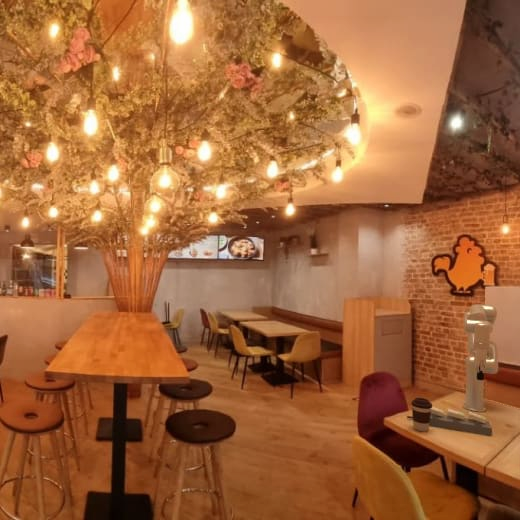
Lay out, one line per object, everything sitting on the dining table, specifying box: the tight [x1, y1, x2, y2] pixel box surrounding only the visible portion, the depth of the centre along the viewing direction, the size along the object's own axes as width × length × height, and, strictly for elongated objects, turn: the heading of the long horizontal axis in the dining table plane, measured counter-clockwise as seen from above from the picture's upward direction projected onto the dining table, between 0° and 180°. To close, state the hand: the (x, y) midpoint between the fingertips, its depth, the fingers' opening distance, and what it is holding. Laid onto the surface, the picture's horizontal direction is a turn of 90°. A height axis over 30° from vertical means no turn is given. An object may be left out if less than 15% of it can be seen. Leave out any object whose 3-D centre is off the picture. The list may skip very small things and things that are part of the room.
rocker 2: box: [467, 410, 487, 424], centre depth 214 cm, size 5×8×2 cm, turn 69°
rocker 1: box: [431, 406, 445, 417], centre depth 221 cm, size 5×8×2 cm, turn 69°
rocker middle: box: [446, 408, 466, 420], centre depth 218 cm, size 5×8×2 cm, turn 69°
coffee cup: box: [411, 397, 433, 432], centre depth 211 cm, size 10×10×15 cm
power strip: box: [406, 413, 493, 437], centre depth 217 cm, size 10×40×5 cm, turn 69°
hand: (480, 379), depth 221 cm, fingers closed
